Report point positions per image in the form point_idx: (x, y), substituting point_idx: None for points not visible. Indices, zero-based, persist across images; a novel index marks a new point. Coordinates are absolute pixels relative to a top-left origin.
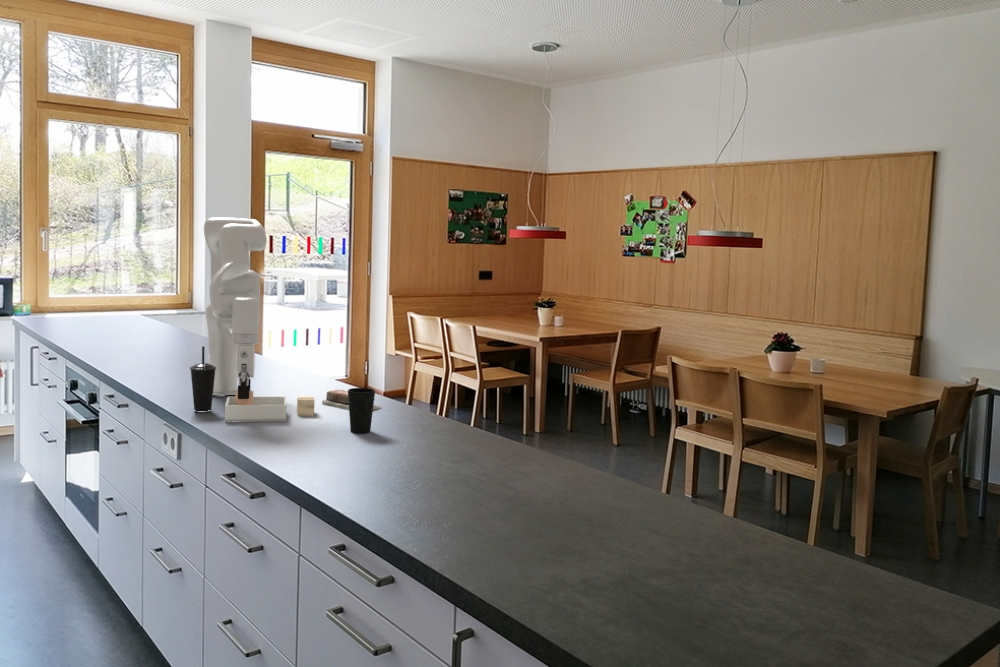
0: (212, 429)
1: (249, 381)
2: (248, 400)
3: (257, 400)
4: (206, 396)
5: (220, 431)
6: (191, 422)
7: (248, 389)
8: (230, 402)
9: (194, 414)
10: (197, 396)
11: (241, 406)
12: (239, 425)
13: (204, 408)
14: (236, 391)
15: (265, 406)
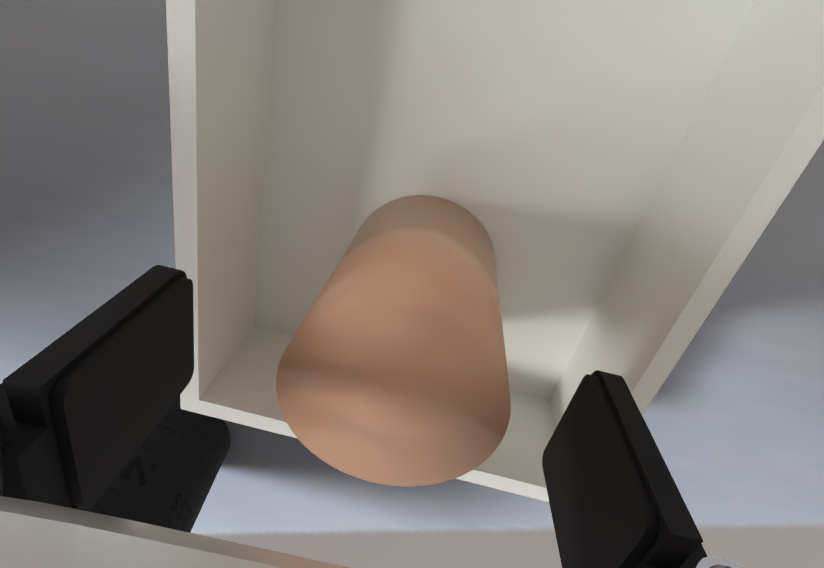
0: (715, 492)
1: (87, 373)
2: (501, 325)
3: (218, 133)
4: (173, 522)
5: (803, 473)
6: (475, 526)
7: (663, 483)
8: (222, 361)
9: (269, 476)
10: None
11: (643, 401)
12: (699, 346)
13: (217, 453)
14: (375, 477)
15: (790, 168)
